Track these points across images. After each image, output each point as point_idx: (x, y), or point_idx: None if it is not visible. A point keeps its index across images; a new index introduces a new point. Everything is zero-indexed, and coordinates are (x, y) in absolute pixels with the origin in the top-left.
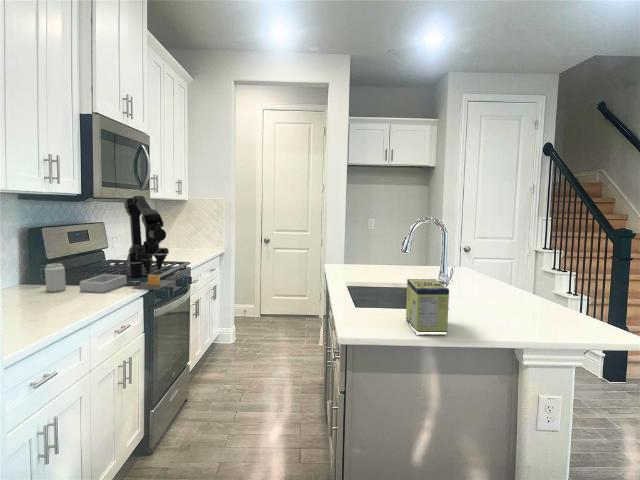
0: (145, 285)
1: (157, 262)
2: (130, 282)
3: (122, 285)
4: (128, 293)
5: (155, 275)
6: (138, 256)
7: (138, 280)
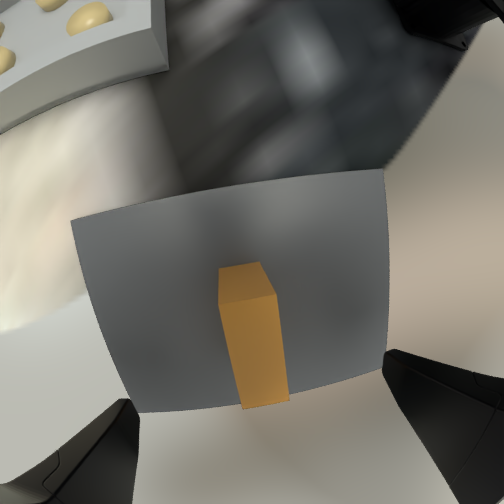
0: (181, 270)
1: (447, 401)
2: (256, 41)
3: (106, 82)
4: (2, 297)
5: (245, 389)
6: None
7: (342, 61)
